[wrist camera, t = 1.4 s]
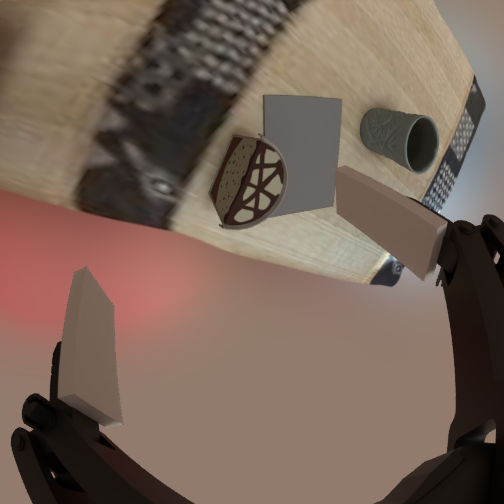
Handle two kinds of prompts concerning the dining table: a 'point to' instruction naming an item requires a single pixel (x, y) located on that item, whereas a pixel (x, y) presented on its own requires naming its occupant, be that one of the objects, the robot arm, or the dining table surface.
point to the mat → (305, 148)
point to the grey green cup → (401, 138)
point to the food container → (248, 182)
